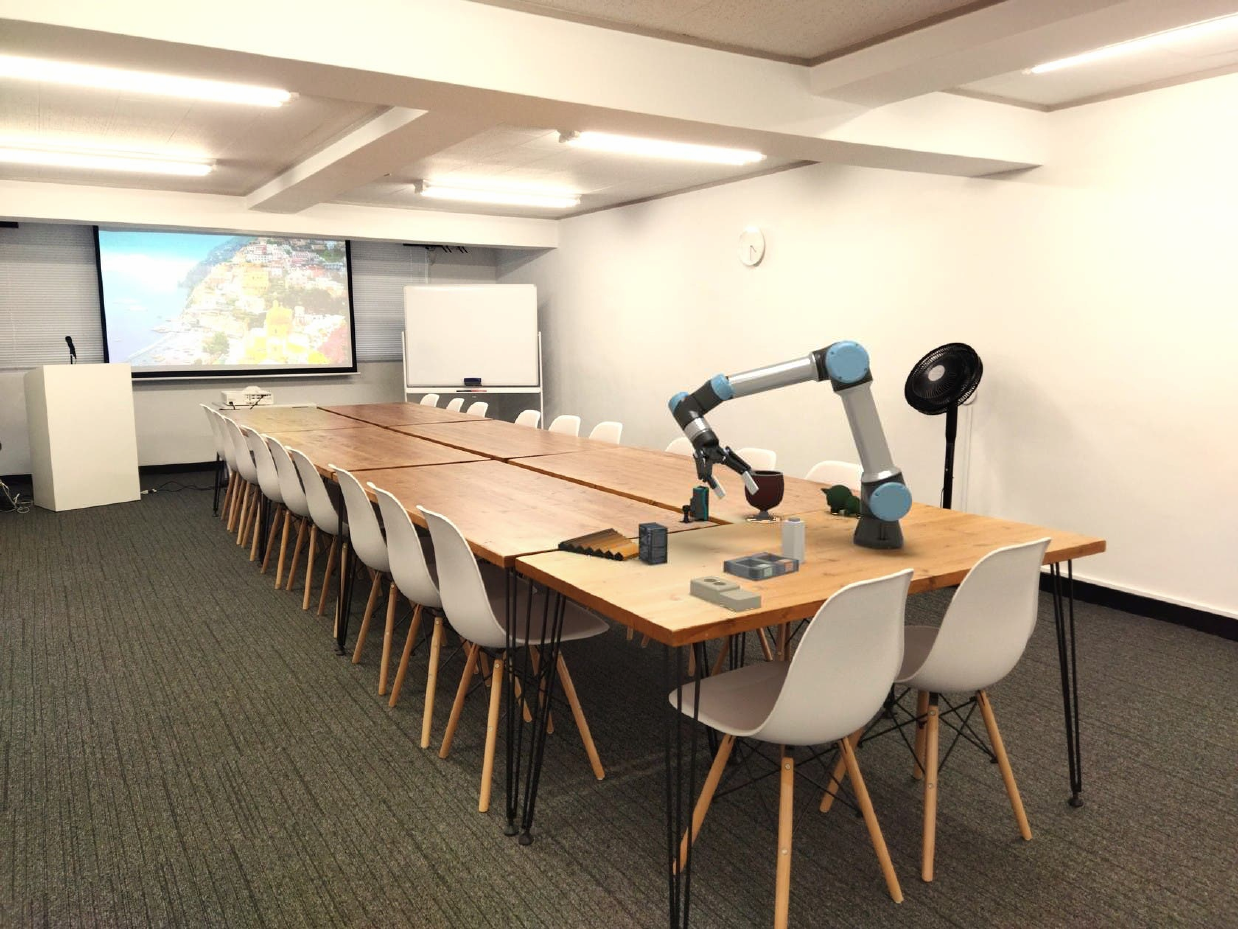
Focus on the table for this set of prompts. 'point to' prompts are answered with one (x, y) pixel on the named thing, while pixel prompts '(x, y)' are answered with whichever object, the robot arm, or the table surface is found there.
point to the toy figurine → (842, 500)
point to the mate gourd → (765, 492)
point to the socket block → (761, 566)
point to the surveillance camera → (697, 505)
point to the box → (653, 543)
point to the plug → (793, 539)
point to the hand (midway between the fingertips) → (739, 494)
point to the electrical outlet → (724, 593)
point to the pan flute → (602, 545)
